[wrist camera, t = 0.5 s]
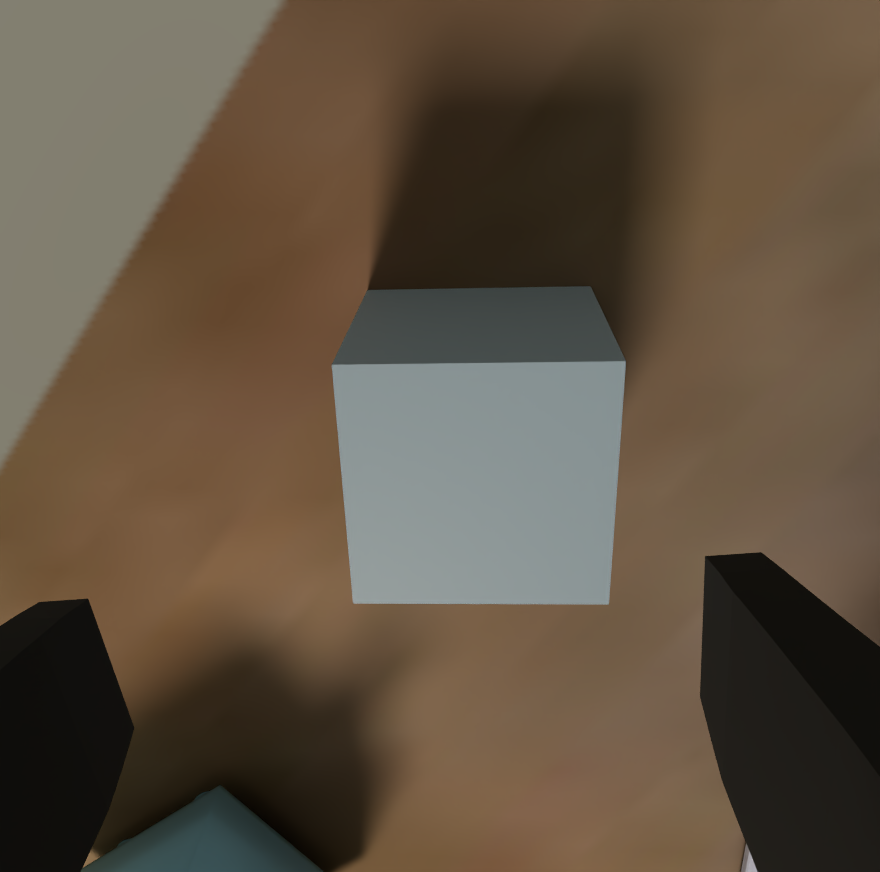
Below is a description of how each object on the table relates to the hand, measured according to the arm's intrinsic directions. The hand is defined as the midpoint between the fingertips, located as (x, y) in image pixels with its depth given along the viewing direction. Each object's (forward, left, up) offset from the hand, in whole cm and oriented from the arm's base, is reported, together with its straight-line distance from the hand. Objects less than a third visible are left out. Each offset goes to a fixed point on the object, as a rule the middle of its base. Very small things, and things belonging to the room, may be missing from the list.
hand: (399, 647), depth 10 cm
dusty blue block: (-1, -1, -11) cm, 11 cm away
